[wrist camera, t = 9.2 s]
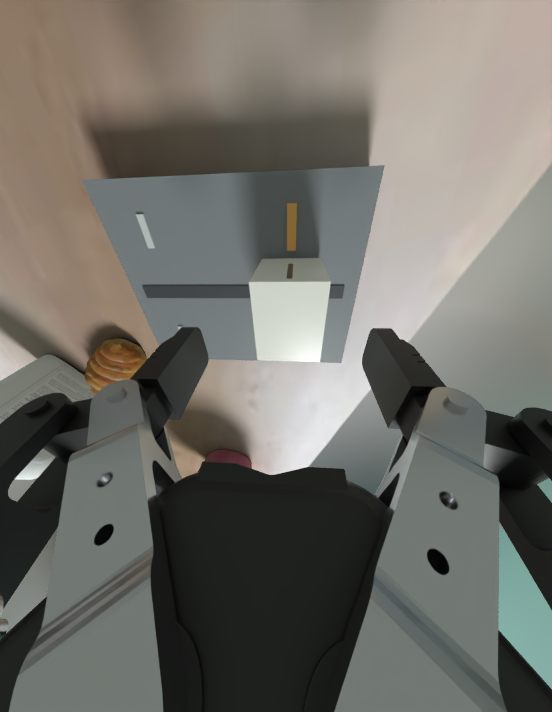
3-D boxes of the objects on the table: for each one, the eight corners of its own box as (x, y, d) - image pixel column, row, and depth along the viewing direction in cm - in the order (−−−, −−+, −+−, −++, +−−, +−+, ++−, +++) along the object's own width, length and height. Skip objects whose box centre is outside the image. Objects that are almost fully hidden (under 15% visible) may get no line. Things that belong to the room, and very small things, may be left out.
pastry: (100, 322, 23) (71, 341, 20) (160, 349, 25) (141, 370, 22) (98, 372, 28) (74, 393, 25) (147, 391, 30) (131, 413, 27)
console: (178, 341, 23) (164, 358, 21) (116, 183, 15) (80, 180, 12) (336, 345, 22) (341, 363, 19) (368, 171, 13) (385, 165, 11)
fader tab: (266, 323, 17) (257, 360, 13) (262, 258, 14) (248, 281, 10) (314, 323, 17) (319, 362, 13) (321, 257, 14) (330, 281, 10)
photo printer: (36, 360, 27) (-108, 449, 18) (49, 348, 26) (-101, 438, 16) (106, 404, 32) (25, 492, 23) (121, 396, 31) (40, 487, 21)
